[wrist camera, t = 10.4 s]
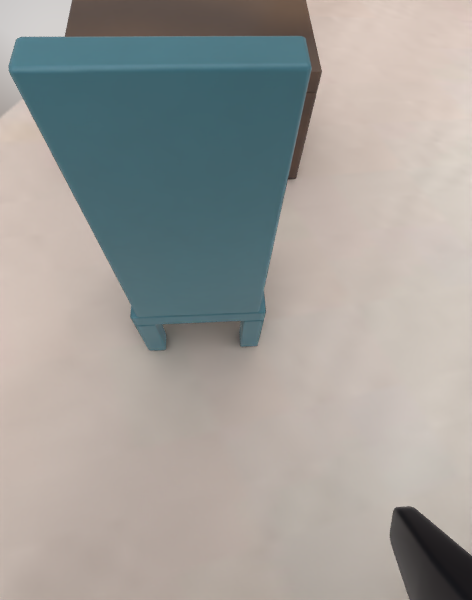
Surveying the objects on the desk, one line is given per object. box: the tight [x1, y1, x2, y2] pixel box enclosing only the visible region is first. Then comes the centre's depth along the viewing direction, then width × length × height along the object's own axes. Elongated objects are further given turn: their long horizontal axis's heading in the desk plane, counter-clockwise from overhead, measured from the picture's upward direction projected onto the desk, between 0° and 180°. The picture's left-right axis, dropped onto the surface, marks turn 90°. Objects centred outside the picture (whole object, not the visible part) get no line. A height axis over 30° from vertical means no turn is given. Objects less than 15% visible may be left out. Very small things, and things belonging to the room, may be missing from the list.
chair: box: [9, 36, 312, 351], centre depth 13 cm, size 5×5×14 cm
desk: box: [65, 0, 322, 179], centre depth 20 cm, size 6×11×6 cm, turn 93°
